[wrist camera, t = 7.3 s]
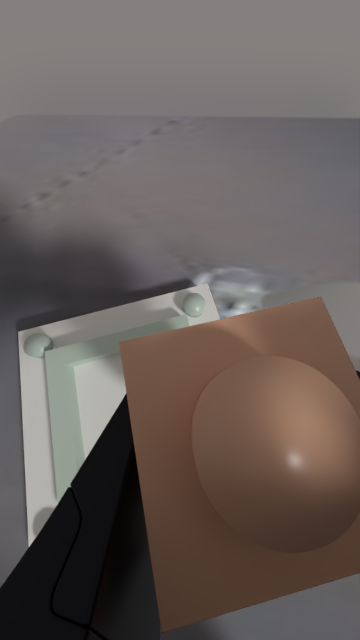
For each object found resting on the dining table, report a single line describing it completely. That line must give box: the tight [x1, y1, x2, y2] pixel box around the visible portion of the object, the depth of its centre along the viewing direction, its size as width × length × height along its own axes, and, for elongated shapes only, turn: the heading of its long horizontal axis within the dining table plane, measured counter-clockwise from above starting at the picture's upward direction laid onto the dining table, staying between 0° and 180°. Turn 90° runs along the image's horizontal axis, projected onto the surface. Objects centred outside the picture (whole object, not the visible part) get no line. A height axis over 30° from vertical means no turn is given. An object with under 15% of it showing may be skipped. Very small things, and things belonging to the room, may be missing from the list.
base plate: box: [18, 284, 220, 547], centre depth 19 cm, size 18×18×4 cm
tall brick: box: [119, 297, 360, 633], centre depth 8 cm, size 4×4×11 cm
